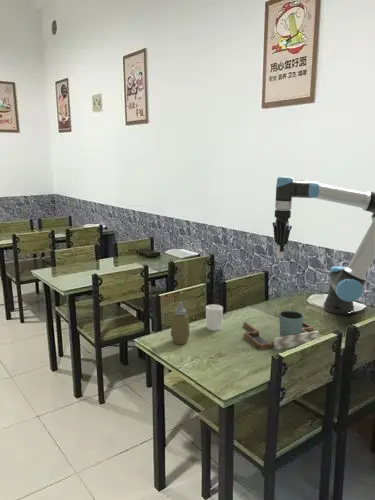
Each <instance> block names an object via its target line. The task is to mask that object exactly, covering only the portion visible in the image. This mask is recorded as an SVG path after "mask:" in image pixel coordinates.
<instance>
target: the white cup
mask: <svg viewBox="0 0 375 500" xmlns="http://www.w3.org/2000/svg"><path fill="white" fill-rule="evenodd" d="M223 312H224V306H222V305H220V304H215V303H214V304H213V303H212V304H208V305H206V306H205V321H206V325H205V326H206V329H207V330H210V331H214V332H215V331H220V330H221V329H222V323H223V314H224V313H223Z"/></svg>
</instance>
